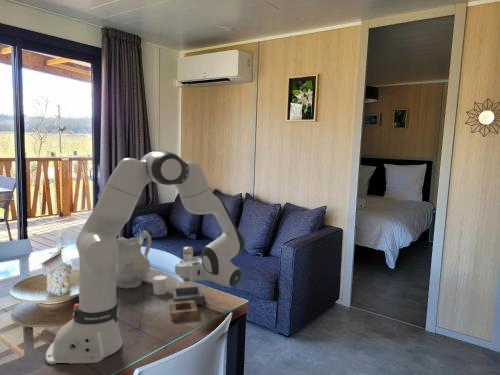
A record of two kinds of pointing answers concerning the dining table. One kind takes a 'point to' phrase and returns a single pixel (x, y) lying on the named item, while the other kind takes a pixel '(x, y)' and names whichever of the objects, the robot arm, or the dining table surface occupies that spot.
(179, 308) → the socket block
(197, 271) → the robot arm
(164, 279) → the shot glass
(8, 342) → the dining table surface
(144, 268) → the ceramic pitcher
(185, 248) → the steel pin
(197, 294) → the tray
